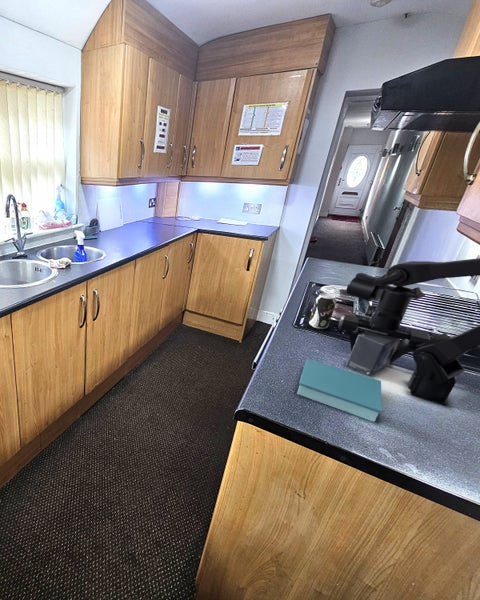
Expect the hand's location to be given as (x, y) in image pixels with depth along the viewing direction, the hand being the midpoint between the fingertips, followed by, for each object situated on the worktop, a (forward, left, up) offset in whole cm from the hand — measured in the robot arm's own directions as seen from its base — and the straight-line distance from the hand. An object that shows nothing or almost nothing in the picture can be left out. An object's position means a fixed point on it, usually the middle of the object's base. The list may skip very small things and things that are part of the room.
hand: (370, 356), depth 94 cm
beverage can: (+14, -20, -3) cm, 25 cm away
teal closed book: (+6, +20, -3) cm, 21 cm away
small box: (0, 0, -3) cm, 3 cm away
